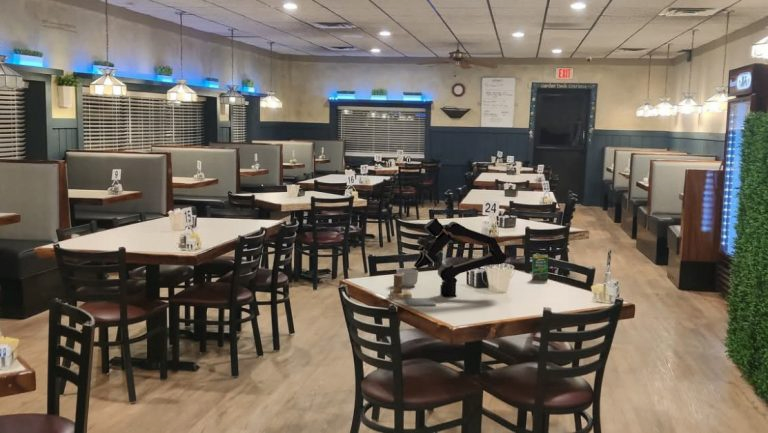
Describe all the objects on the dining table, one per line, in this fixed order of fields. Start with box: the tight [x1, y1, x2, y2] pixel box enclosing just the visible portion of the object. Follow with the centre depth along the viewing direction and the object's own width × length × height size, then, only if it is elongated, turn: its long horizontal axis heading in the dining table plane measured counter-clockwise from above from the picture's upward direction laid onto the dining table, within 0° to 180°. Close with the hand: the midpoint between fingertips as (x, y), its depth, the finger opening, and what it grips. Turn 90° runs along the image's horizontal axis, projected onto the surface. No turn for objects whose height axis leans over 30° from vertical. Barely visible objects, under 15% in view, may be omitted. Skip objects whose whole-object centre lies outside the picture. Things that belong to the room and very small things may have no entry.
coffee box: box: [531, 254, 549, 281], centre depth 388 cm, size 8×3×13 cm, turn 87°
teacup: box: [396, 267, 419, 288], centre depth 366 cm, size 14×11×8 cm
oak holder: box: [389, 289, 413, 300], centre depth 344 cm, size 9×10×2 cm
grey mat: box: [405, 297, 437, 307], centre depth 332 cm, size 12×12×1 cm
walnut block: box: [393, 273, 403, 293], centre depth 343 cm, size 4×4×10 cm
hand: (415, 267), depth 344 cm, fingers open, 4 cm apart
